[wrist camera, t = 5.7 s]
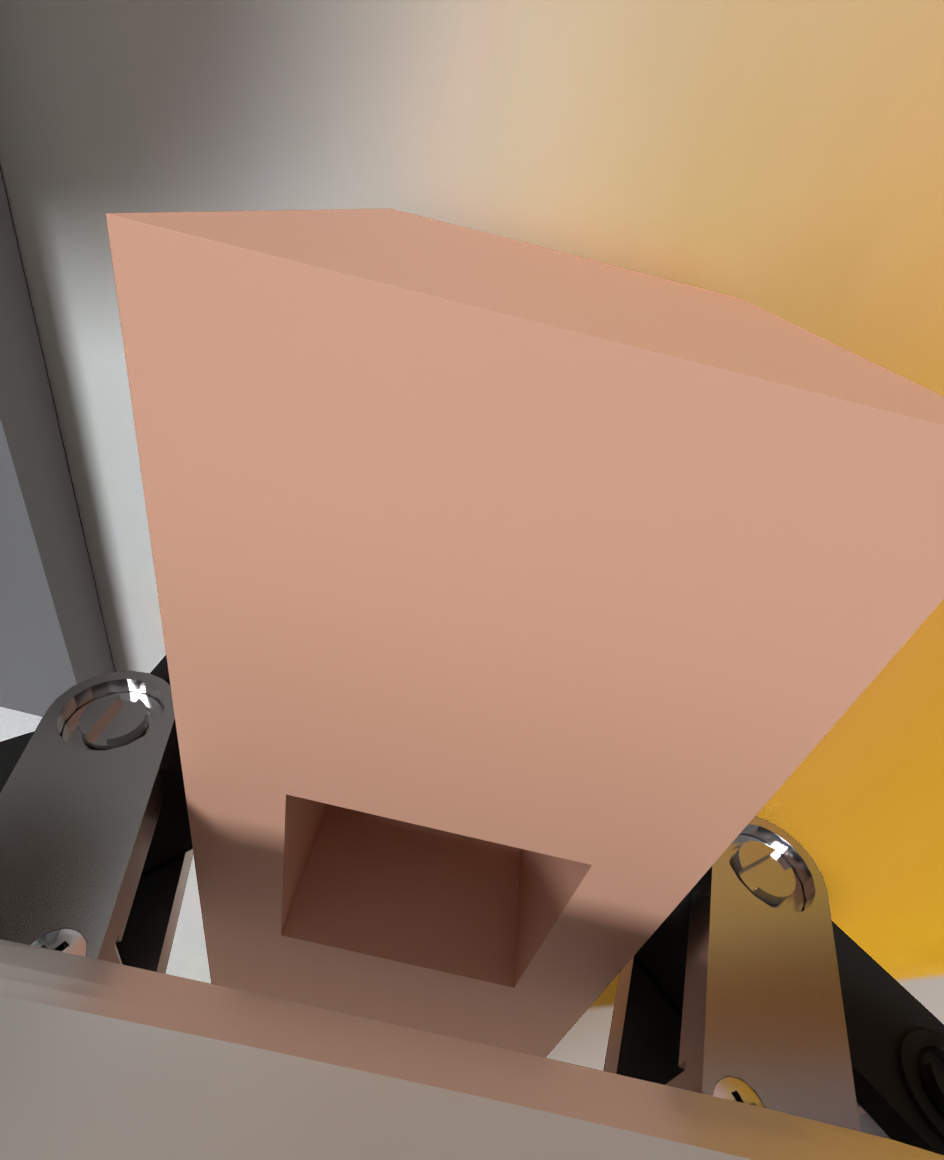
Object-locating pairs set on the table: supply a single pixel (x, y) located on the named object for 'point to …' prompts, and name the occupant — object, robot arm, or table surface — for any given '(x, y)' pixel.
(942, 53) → the table surface
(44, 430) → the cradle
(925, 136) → the table surface
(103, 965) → the robot arm
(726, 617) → the pink block with hole
